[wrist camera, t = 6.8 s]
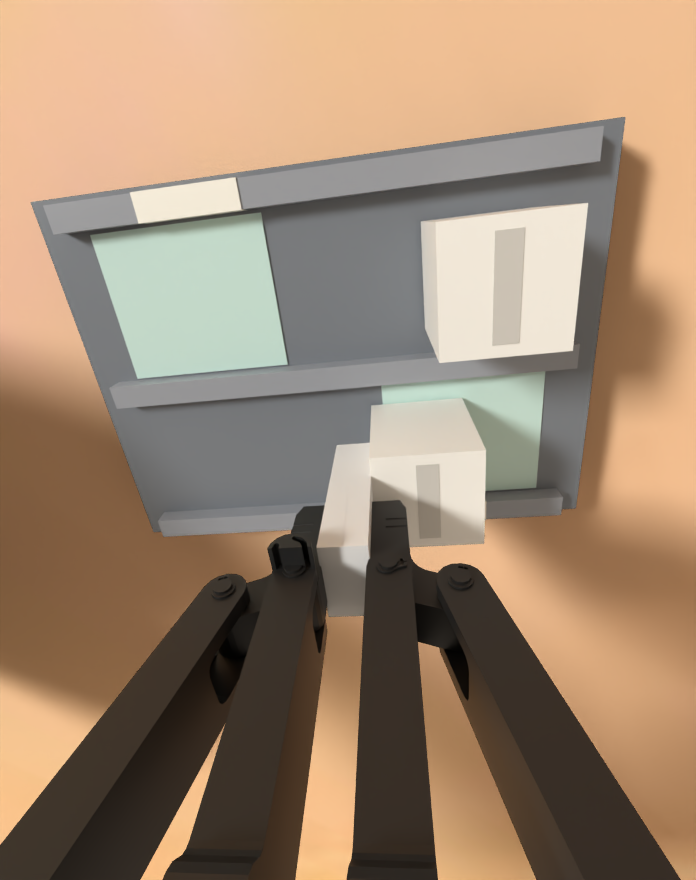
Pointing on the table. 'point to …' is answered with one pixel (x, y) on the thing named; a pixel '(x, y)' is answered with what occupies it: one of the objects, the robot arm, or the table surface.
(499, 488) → the switch board
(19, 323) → the table surface
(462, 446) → the tab
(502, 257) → the tab
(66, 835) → the robot arm
